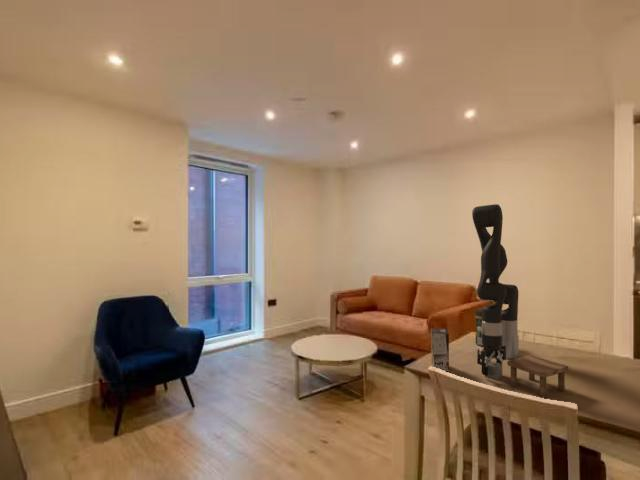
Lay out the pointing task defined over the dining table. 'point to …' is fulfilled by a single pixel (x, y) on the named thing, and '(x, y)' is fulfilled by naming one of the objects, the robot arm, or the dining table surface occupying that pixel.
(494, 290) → the robot arm
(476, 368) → the dining table surface
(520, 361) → the footstool
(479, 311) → the coffee jar
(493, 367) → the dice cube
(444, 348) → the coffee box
